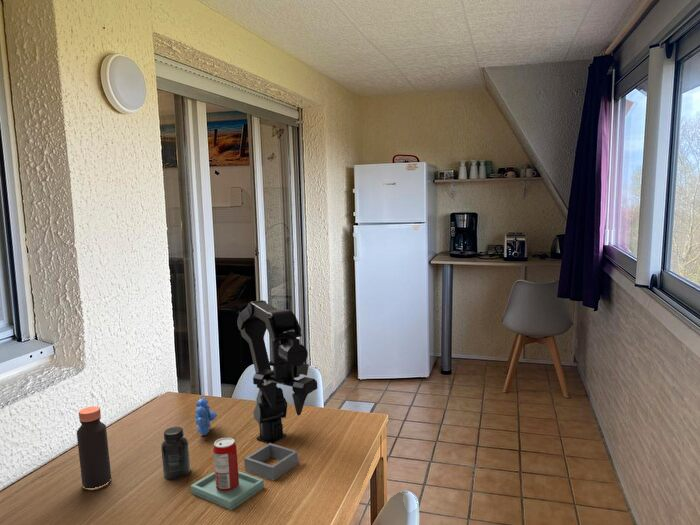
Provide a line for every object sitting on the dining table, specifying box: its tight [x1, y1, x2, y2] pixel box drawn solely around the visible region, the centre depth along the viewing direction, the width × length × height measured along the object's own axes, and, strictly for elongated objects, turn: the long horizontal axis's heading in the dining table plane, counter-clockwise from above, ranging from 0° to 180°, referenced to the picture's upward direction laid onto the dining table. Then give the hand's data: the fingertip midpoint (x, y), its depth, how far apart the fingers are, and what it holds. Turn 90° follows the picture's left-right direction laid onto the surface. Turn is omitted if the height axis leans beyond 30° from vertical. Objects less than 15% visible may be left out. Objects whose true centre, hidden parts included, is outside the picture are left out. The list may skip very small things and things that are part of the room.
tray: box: [190, 470, 265, 510], centre depth 131 cm, size 14×11×2 cm
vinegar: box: [76, 405, 112, 488], centre depth 135 cm, size 7×7×20 cm
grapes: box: [194, 397, 218, 436], centre depth 162 cm, size 12×7×12 cm, turn 8°
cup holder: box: [243, 443, 299, 482], centre depth 141 cm, size 10×10×4 cm
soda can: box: [212, 437, 239, 492], centre depth 130 cm, size 6×6×12 cm
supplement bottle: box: [160, 426, 191, 480], centre depth 139 cm, size 7×7×12 cm
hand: (286, 411), depth 146 cm, fingers open, 9 cm apart
